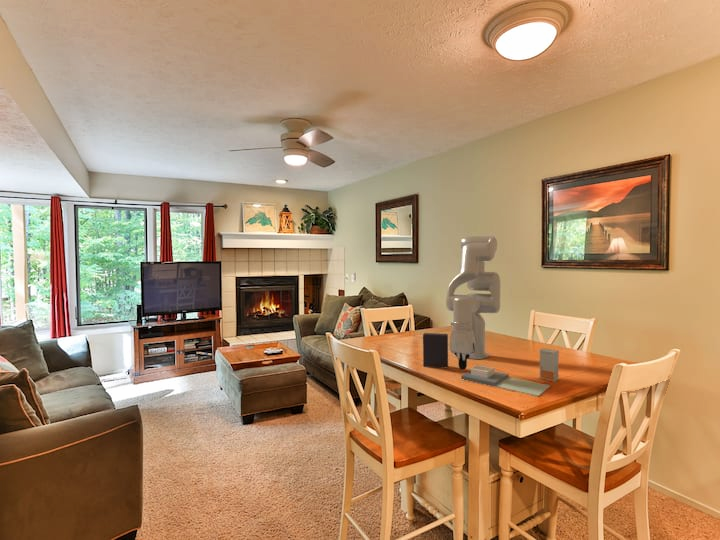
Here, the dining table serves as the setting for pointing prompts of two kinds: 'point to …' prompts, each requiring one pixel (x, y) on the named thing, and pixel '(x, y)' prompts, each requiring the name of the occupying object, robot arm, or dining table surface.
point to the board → (490, 381)
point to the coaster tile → (482, 371)
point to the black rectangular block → (435, 350)
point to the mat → (523, 386)
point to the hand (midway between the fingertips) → (462, 368)
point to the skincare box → (549, 364)
